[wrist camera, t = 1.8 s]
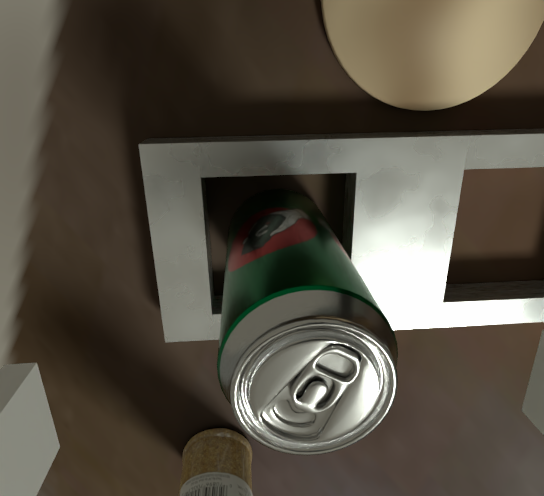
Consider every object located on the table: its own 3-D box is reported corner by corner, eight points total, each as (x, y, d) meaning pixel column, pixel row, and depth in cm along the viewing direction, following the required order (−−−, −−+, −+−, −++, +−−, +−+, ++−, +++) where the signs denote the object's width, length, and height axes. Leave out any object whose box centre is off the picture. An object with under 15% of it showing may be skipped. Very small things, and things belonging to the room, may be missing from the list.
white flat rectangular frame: (631, 126, 21) (669, 130, 19) (578, 300, 24) (606, 318, 23) (148, 138, 19) (138, 144, 17) (171, 321, 23) (165, 342, 21)
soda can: (211, 250, 22) (179, 428, 10) (258, 167, 20) (281, 271, 9) (292, 291, 23) (341, 488, 12) (343, 215, 21) (453, 359, 10)
